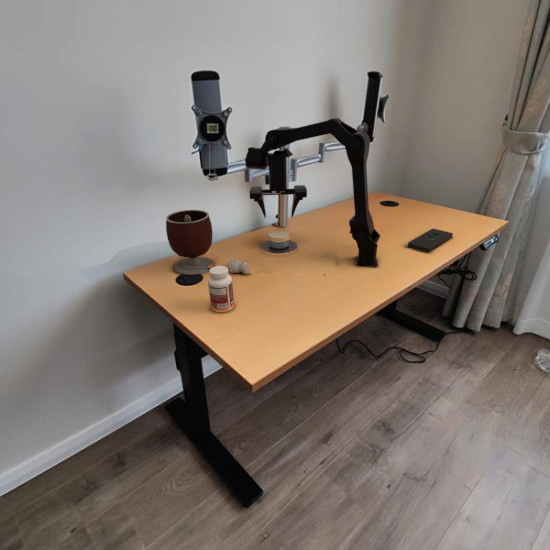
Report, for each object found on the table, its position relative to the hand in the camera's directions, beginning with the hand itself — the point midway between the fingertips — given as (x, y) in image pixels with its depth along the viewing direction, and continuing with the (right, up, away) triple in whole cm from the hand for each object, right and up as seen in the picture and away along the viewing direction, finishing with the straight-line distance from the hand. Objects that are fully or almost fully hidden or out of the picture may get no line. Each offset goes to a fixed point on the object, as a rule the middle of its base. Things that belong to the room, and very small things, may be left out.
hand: (278, 217), depth 126 cm
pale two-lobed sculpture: (-13, -19, -10) cm, 25 cm away
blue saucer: (0, -10, +5) cm, 11 cm away
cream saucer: (0, -8, +4) cm, 9 cm away
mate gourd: (-27, -18, -6) cm, 33 cm away
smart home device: (+55, -8, +8) cm, 56 cm away
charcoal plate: (0, -11, +5) cm, 12 cm away
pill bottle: (-15, -28, -28) cm, 43 cm away
